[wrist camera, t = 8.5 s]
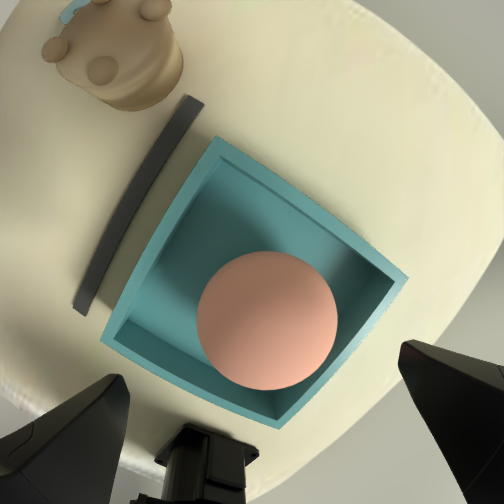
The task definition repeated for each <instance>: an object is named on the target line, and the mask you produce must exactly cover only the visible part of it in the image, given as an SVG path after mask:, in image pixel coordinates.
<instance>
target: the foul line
mask: <svg viewBox="0 0 504 504" xmlns="http://www.w3.org/2000/svg"><path fill="white" fill-rule="evenodd" d="M203 107H204V104H203V103H202V102H200V101H198V100H196V99H195V98H193V97H191V96H189V95H188V96H187V98H186V99H185V100H184V102H183V103H182V105H181V106H180V107H179V109H178V110H177V111H176V113H175V114H174V116H173V117H172V119H171V120H170V121H169V123H168V124H167V126H166V127H165V129H164V130H163V132H162V133H161V135H160V136H159V138H158V139H157V141H156V142H155V144H154V145H153V147H152V149H151V150H150V152H149V153H148V155H147V157H146V158H145V160H144V161H143V163H142V165H141V166H140V168H139V170H138V171H137V173H136V175H135V177H134V178H133V180H132V182H131V184H130V185H129V187H128V189H127V191H126V192H125V194H124V196H123V198H122V200H121V202H120V203H119V205H118V207H117V209H116V211H115V213H114V215H113V217H112V219H111V221H110V223H109V225H108V227H107V229H106V231H105V233H104V235H103V237H102V239H101V241H100V243H99V246H98V248H97V250H96V252H95V254H94V257H93V259H92V261H91V263H90V266H89V268H88V270H87V273H86V275H85V277H84V280H83V282H82V285H81V287H80V290H79V292H78V295H77V298H76V300H75V303H74V306H73V308H74V309H75V310H76V311H78V312H79V313H81V314H82V315H83V316H86V315H87V313H88V310H89V308H90V306H91V303H92V301H93V298H94V296H95V294H96V291H97V289H98V287H99V285H100V282H101V280H102V278H103V276H104V274H105V271H106V269H107V267H108V265H109V263H110V261H111V259H112V257H113V255H114V253H115V251H116V249H117V247H118V245H119V243H120V241H121V239H122V237H123V235H124V233H125V231H126V229H127V227H128V225H129V224H130V222H131V220H132V218H133V216H134V214H135V213H136V211H137V209H138V207H139V205H140V204H141V202H142V200H143V198H144V197H145V195H146V193H147V191H148V190H149V188H150V186H151V185H152V183H153V181H154V180H155V178H156V176H157V175H158V173H159V172H160V170H161V168H162V167H163V165H164V164H165V162H166V160H167V159H168V157H169V156H170V154H171V153H172V151H173V150H174V148H175V147H176V145H177V144H178V142H179V141H180V139H181V138H182V136H183V135H184V133H185V132H186V130H187V129H188V127H189V126H190V125H191V123H192V122H193V120H194V119H195V118H196V116H197V115H198V113H199V112H200V111H201V109H202V108H203Z"/></svg>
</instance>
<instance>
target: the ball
mask: <svg viewBox="0 0 504 504" xmlns="http://www.w3.org/2000/svg"><path fill="white" fill-rule="evenodd" d="M337 323H338V321H337V309H336V304H335V300H334V297H333V294H332V292H331V290H330V288H329V286H328V284H327V283H326V281H325V280H324V279H323V277H322V276H321V275H320V274H319V273H318V272H317V271H316V270H315V269H314V268H313V267H312V266H311V265H309V264H308V263H306V262H305V261H303V260H301V259H299V258H297V257H295V256H293V255H290V254H286V253H283V252H276V251H258V252H252V253H248V254H245V255H242V256H240V257H238V258H236V259H234V260H232V261H230V262H228V263H227V264H225V265H224V266H223V267H222V268H220V269H219V270H218V271H217V272H216V274H215V275H214V276H213V277H212V278H211V279H210V281H209V282H208V283H207V285H206V287H205V289H204V291H203V293H202V295H201V298H200V301H199V305H198V309H197V333H198V337H199V341H200V344H201V346H202V349H203V351H204V353H205V355H206V356H207V358H208V360H209V361H210V362H211V364H212V365H213V366H214V367H215V368H216V369H217V370H218V371H219V372H220V373H221V374H222V375H224V376H225V377H226V378H228V379H229V380H231V381H233V382H235V383H237V384H239V385H242V386H244V387H248V388H252V389H258V390H275V389H281V388H285V387H288V386H292V385H294V384H296V383H298V382H301V381H302V380H304V379H305V378H307V377H308V376H310V375H311V374H312V373H313V372H314V371H316V370H317V369H318V368H319V367H320V365H321V364H322V363H323V362H324V360H325V359H326V357H327V356H328V354H329V352H330V350H331V348H332V346H333V343H334V340H335V336H336V331H337Z"/></svg>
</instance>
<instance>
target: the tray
mask: <svg viewBox="0 0 504 504" xmlns="http://www.w3.org/2000/svg"><path fill="white" fill-rule="evenodd" d="M258 251H276V252H283V253H286V254H290V255H293V256H295V257H297V258H299V259H301V260H303V261H305V262H306V263H308V264H309V265H311V266H312V267H313V268H314V269H315V270H316V271H317V272H318V273H319V274H320V275H321V276H322V277H323V279H324V280H325V281H326V283H327V284H328V286H329V288H330V290H331V292H332V294H333V297H334V300H335V304H336V309H337V321H338V323H337V331H336V336H335V340H334V343H333V346H332V348H331V350H330V352H329V354H328V356H327V357H326V359H325V360H324V362H323V363H322V364H321V365H320V367H319V368H318V369H317V370H316V371H314V372H313V373H312V374H311V375H310V376H308V377H307V378H305V379H304V380H302V381H301V382H298V383H296V384H294V385H292V386H288V387H285V388H281V389H275V390H258V389H252V388H248V387H244V386H242V385H239V384H237V383H235V382H233V381H231V380H229V379H228V378H226V377H225V376H224V375H222V374H221V373H220V372H219V371H218V370H217V369H216V368H215V367H214V366H213V365H212V364H211V362H210V361H209V360H208V358H207V356H206V355H205V353H204V351H203V349H202V346H201V344H200V341H199V337H198V333H197V309H198V305H199V301H200V298H201V295H202V293H203V291H204V289H205V287H206V285H207V283H208V282H209V281H210V279H211V278H212V277H213V276H214V275H215V274H216V272H217V271H218V270H219V269H220V268H222V267H223V266H224V265H225V264H227V263H228V262H230V261H232V260H234V259H236V258H238V257H240V256H242V255H245V254H248V253H252V252H258ZM408 278H409V277H408V276H406V275H405V274H404V273H403V272H402V271H401V270H399V269H398V268H397V267H396V266H395V265H394V264H392V263H391V262H390V261H389V260H388V259H387V258H385V257H384V256H383V255H382V254H381V253H379V252H378V251H377V250H376V249H374V248H373V247H372V246H371V245H370V244H368V243H367V242H366V241H365V240H363V239H362V238H361V237H360V236H358V235H357V234H356V233H355V232H353V231H352V230H351V229H350V228H348V227H347V226H346V225H344V224H343V223H342V222H341V221H339V220H338V219H337V218H335V217H334V216H333V215H331V214H330V213H329V212H327V211H326V210H325V209H323V208H322V207H321V206H319V205H318V204H317V203H315V202H314V201H313V200H311V199H310V198H308V197H307V196H306V195H304V194H303V193H302V192H300V191H299V190H297V189H296V188H295V187H293V186H292V185H290V184H289V183H288V182H286V181H285V180H283V179H282V178H280V177H279V176H277V175H276V174H275V173H273V172H272V171H270V170H269V169H267V168H266V167H264V166H263V165H261V164H260V163H258V162H257V161H255V160H254V159H252V158H251V157H249V156H248V155H246V154H245V153H243V152H242V151H240V150H238V149H237V148H235V147H234V146H232V145H231V144H229V143H228V142H226V141H224V140H223V139H221V138H220V137H218V136H215V138H214V139H213V141H212V142H211V143H210V145H209V146H208V148H207V149H206V151H205V152H204V154H203V155H202V157H201V158H200V160H199V161H198V163H197V164H196V166H195V167H194V169H193V170H192V172H191V173H190V175H189V176H188V178H187V179H186V181H185V183H184V184H183V186H182V187H181V189H180V190H179V192H178V194H177V195H176V197H175V199H174V200H173V202H172V203H171V205H170V207H169V208H168V210H167V212H166V213H165V215H164V217H163V218H162V220H161V222H160V224H159V225H158V227H157V229H156V230H155V232H154V234H153V236H152V237H151V239H150V241H149V243H148V245H147V246H146V248H145V250H144V252H143V254H142V255H141V257H140V259H139V261H138V263H137V265H136V267H135V269H134V270H133V272H132V274H131V276H130V278H129V280H128V282H127V284H126V286H125V288H124V290H123V292H122V294H121V296H120V298H119V300H118V302H117V304H116V306H115V308H114V310H113V312H112V315H111V317H110V319H109V321H108V323H107V325H106V328H105V330H104V332H103V334H102V336H101V339H100V341H101V342H103V343H104V344H106V345H107V346H109V347H110V348H112V349H114V350H115V351H117V352H118V353H120V354H121V355H123V356H125V357H126V358H128V359H130V360H131V361H133V362H135V363H136V364H138V365H140V366H141V367H143V368H145V369H147V370H148V371H150V372H152V373H154V374H155V375H157V376H159V377H161V378H163V379H165V380H166V381H168V382H170V383H172V384H174V385H176V386H178V387H180V388H182V389H184V390H186V391H188V392H190V393H192V394H194V395H196V396H198V397H200V398H202V399H204V400H207V401H209V402H211V403H213V404H215V405H218V406H220V407H222V408H225V409H227V410H229V411H232V412H234V413H236V414H239V415H241V416H244V417H246V418H249V419H251V420H254V421H257V422H259V423H262V424H265V425H267V426H270V427H273V428H276V429H280V428H281V427H282V426H284V425H285V424H286V423H287V422H288V421H289V420H290V419H291V418H292V417H293V416H294V415H295V414H296V413H297V412H298V411H299V410H300V409H301V408H302V407H303V406H304V405H305V404H306V403H307V402H308V401H309V400H310V399H311V398H312V397H313V396H314V395H315V394H316V393H317V392H318V391H319V390H320V389H321V388H322V387H323V386H324V385H325V384H326V382H327V381H328V380H329V379H330V378H331V377H332V376H333V375H334V374H335V373H336V371H337V370H338V369H339V368H340V367H341V366H342V365H343V363H344V362H345V361H346V360H347V359H348V358H349V357H350V355H351V354H352V353H353V352H354V351H355V349H356V348H357V347H358V346H359V345H360V343H361V342H362V341H363V340H364V338H365V337H366V336H367V335H368V333H369V332H370V331H371V330H372V328H373V327H374V326H375V324H376V323H377V322H378V320H379V319H380V318H381V316H382V315H383V314H384V312H385V311H386V310H387V308H388V307H389V306H390V304H391V303H392V301H393V300H394V299H395V297H396V296H397V294H398V293H399V292H400V290H401V289H402V287H403V286H404V284H405V283H406V281H407V280H408Z"/></svg>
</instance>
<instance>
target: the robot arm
mask: <svg viewBox="0 0 504 504" xmlns="http://www.w3.org/2000/svg"><path fill="white" fill-rule="evenodd" d="M398 368H399V371H400V373H401V375H402V377H403V379H404V381H405V384H406V386H407V388H408V391H409V393H410V395H411V397H412V399H413V402H414V403H415V405H416V407H417V409H418V411H419V412H420V414H421V416H422V418H423V419H424V421H425V423H426V425H427V426H428V428H429V430H430V432H431V433H432V435H433V437H434V439H435V441H436V443H437V444H438V446H439V448H440V450H441V452H442V454H443V456H444V457H445V459H446V461H447V463H448V465H449V467H450V469H451V471H452V473H453V475H454V477H455V479H456V481H457V483H458V485H459V487H460V489H461V491H462V493H463V495H464V497H465V500H466V502H467V504H504V366H501V365H497V364H494V363H490V362H487V361H483V360H480V359H476V358H473V357H469V356H466V355H463V354H459V353H456V352H453V351H449V350H446V349H443V348H439V347H436V346H433V345H430V344H427V343H424V342H420V341H417V340H414V339H412V340H408V341H405V342H403V343H402V345H401V349H400V354H399V359H398ZM129 405H130V393H129V391H128V388H127V386H126V383H125V381H124V378H123V376H122V375H120V374H108V375H107V376H105V377H103V378H102V379H100V380H99V381H97V382H96V383H94V384H92V385H91V386H89V387H88V388H86V389H84V390H83V391H81V392H80V393H78V394H76V395H75V396H73V397H72V398H70V399H68V400H67V401H65V402H64V403H62V404H60V405H59V406H57V407H55V408H54V409H52V410H50V411H49V412H47V413H46V414H44V415H42V416H41V417H39V418H37V419H36V420H34V422H33V421H32V422H31V423H29V424H27V425H26V426H24V427H22V428H20V429H18V430H17V431H15V432H13V433H11V434H9V435H7V436H5V437H3V438H1V439H0V504H109V502H110V497H111V492H112V487H113V483H114V478H115V474H116V470H117V466H118V462H119V458H120V454H121V450H122V446H123V442H124V438H125V432H126V425H127V418H128V411H129ZM188 429H189V430H188ZM257 457H259V450H258V449H256V448H253V447H250V446H247V445H244V444H241V443H238V442H235V441H233V440H230V439H227V438H224V437H222V436H219V435H217V434H214V433H211V432H209V431H207V430H204V429H202V428H199V427H197V426H195V425H192V424H184V425H183V426H182V427H181V428H180V429H179V430H178V432H177V433H176V434H175V435H174V436H173V437H172V438H171V439H170V440H169V442H168V443H167V444H166V445H165V446H164V447H163V448H162V449H161V450H160V451H159V453H158V454H157V455H156V456H155V459H154V461H155V462H156V463H157V464H159V465H162V466H164V467H166V473H165V479H164V484H163V491H162V496H161V499H157V498H153V497H148V495H145V494H142V493H139V496H138V499H137V500H131V501H130V504H246V497H245V488H246V474H245V467H246V466H247V465H249V464H250V463H251V462H252V461H254V460H255V459H256V458H257Z"/></svg>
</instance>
